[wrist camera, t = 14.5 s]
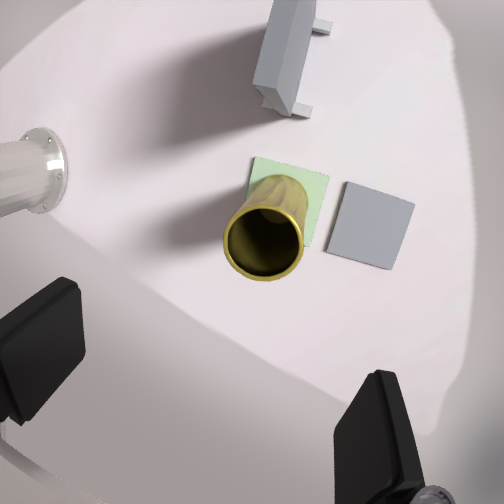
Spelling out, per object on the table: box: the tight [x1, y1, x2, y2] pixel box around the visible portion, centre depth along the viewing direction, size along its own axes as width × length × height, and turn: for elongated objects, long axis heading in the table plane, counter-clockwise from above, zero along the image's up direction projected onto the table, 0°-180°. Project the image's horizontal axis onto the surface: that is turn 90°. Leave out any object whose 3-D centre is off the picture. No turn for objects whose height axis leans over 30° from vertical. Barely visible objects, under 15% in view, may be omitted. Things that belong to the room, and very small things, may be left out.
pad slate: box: [327, 181, 415, 270], centre depth 33 cm, size 8×8×1 cm
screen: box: [252, 0, 333, 118], centre depth 20 cm, size 5×12×18 cm, turn 167°
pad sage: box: [245, 157, 330, 247], centre depth 34 cm, size 8×8×1 cm
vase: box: [223, 174, 308, 281], centre depth 27 cm, size 6×6×14 cm
